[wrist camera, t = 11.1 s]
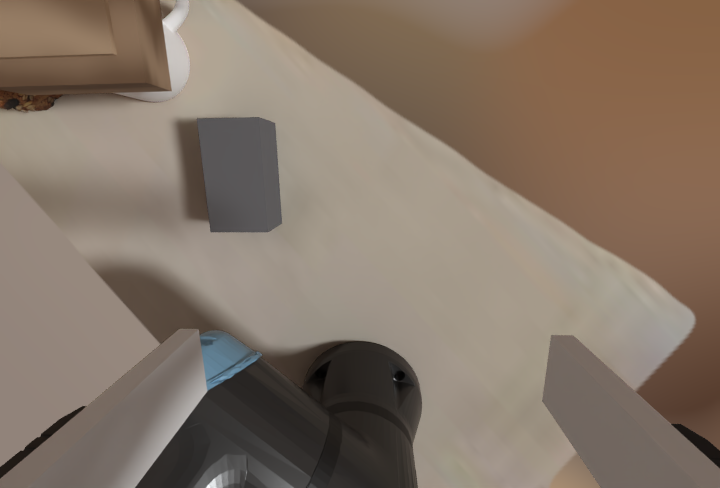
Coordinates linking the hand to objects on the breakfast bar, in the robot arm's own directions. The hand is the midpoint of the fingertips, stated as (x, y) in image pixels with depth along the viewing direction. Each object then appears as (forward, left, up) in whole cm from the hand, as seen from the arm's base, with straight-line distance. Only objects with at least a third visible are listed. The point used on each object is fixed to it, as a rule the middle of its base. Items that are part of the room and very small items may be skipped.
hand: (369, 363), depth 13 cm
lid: (+19, +22, -17) cm, 33 cm away
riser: (+6, +14, -27) cm, 31 cm away
